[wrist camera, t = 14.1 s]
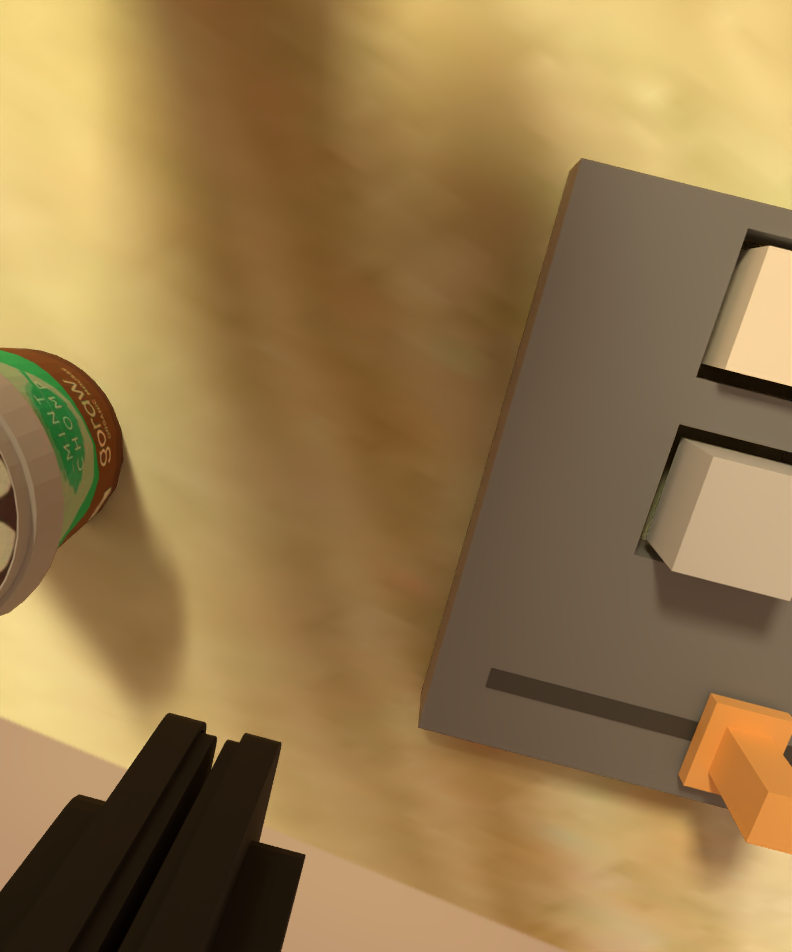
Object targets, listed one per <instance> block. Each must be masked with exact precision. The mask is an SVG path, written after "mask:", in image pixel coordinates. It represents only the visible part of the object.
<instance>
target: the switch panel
mask: <svg viewBox="0 0 792 952" xmlns="http://www.w3.org/2000/svg"><path fill="white" fill-rule="evenodd" d="M743 241H748V242H752V243H756V244H760V245H764V246H773V247H777V248H781V249H785V250H790V251H792V210H789V209H785V208H781V207H777V206H773V205H769V204H765V203H761V202H757V201H753V200H749V199H745V198H741V197H736V196H732V195H728V194H724V193H720V192H716V191H712V190H708V189H704V188H700V187H696V186H692V185H688V184H684V183H680V182H676V181H672V180H668V179H664V178H660V177H656V176H652V175H648V174H644V173H640V172H636V171H632V170H628V169H624V168H620V167H615V166H611V165H607V164H603V163H599V162H595V161H591V160H587V159H583V158H581V159H580V160H579V161H578V163H577V164H576V165H575V166H574V167H573V168H572V169H571V170H570V171H569V175H568V178H567V182H566V186H565V189H564V193H563V196H562V200H561V203H560V207H559V210H558V214H557V217H556V221H555V224H554V228H553V231H552V235H551V238H550V242H549V245H548V249H547V252H546V256H545V259H544V263H543V266H542V270H541V274H540V277H539V281H538V284H537V288H536V291H535V295H534V298H533V302H532V305H531V309H530V312H529V316H528V319H527V323H526V326H525V330H524V333H523V337H522V340H521V344H520V347H519V351H518V354H517V358H516V362H515V365H514V369H513V372H512V376H511V379H510V383H509V386H508V390H507V393H506V397H505V400H504V404H503V407H502V411H501V414H500V418H499V421H498V425H497V428H496V432H495V435H494V439H493V442H492V446H491V449H490V453H489V457H488V460H487V464H486V467H485V471H484V474H483V478H482V481H481V485H480V488H479V492H478V495H477V499H476V502H475V506H474V509H473V513H472V516H471V520H470V523H469V527H468V530H467V534H466V537H465V541H464V545H463V548H462V552H461V555H460V559H459V562H458V566H457V569H456V573H455V576H454V580H453V583H452V587H451V590H450V594H449V597H448V601H447V604H446V608H445V611H444V615H443V618H442V622H441V625H440V629H439V633H438V636H437V640H436V643H435V647H434V650H433V654H432V657H431V661H430V664H429V668H428V671H427V675H426V678H425V682H424V685H423V689H422V692H421V700H420V712H419V724H418V728H422V729H425V730H429V731H433V732H437V733H441V734H444V735H448V736H452V737H456V738H460V739H463V740H467V741H471V742H475V743H479V744H483V745H486V746H490V747H494V748H498V749H502V750H505V751H509V752H513V753H517V754H521V755H524V756H528V757H532V758H536V759H540V760H543V761H547V762H551V763H555V764H559V765H563V766H566V767H570V768H574V769H578V770H582V771H585V772H589V773H593V774H597V775H601V776H604V777H608V778H612V779H616V780H620V781H623V782H627V783H631V784H635V785H639V786H643V787H646V788H650V789H654V790H658V791H662V792H665V793H669V794H673V795H677V796H681V797H684V798H688V799H692V800H696V801H700V802H703V803H707V804H711V805H715V806H719V807H723V808H726V809H728V807H727V806H726V804H725V802H724V800H723V798H722V796H721V795H718V794H715V793H711V792H707V791H703V790H699V789H695V788H692V787H688V786H684V785H683V783H682V781H681V779H680V777H679V775H678V774H679V771H680V769H681V766H682V764H683V761H684V759H685V756H686V754H687V751H688V749H689V746H690V744H691V741H692V739H693V736H694V734H695V731H696V729H697V726H698V724H699V721H700V719H701V716H702V714H703V711H704V709H705V706H706V704H707V701H708V699H709V696H710V694H711V693H713V694H717V695H721V696H725V697H728V698H732V699H736V700H740V701H744V702H748V703H752V704H755V705H759V706H763V707H767V708H771V709H775V710H778V711H782V712H786V713H789V714H790V715H791V717H792V597H791V600H790V601H787V600H783V599H779V598H775V597H771V596H768V595H764V594H760V593H756V592H752V591H748V590H744V589H740V588H736V587H733V586H729V585H725V584H721V583H717V582H713V581H709V580H705V579H701V578H698V577H694V576H690V575H686V574H682V573H678V572H674V571H671V569H670V568H669V567H668V566H667V564H666V563H665V562H664V561H663V559H662V558H661V557H660V556H659V554H658V553H657V552H656V551H655V549H654V548H653V547H652V546H651V544H650V543H649V542H648V541H647V540H643V539H640V536H641V533H642V530H643V527H644V524H645V521H646V519H647V516H648V513H649V510H650V507H651V504H652V501H653V499H654V496H655V493H656V490H657V487H658V484H659V481H660V479H661V476H662V473H663V470H664V467H665V464H666V461H667V459H668V456H669V453H670V450H671V447H672V444H673V441H674V439H675V436H676V433H677V430H678V427H679V424H681V425H685V426H689V427H693V428H697V429H701V430H705V431H709V432H713V433H717V434H721V435H724V436H728V437H732V438H736V439H740V440H744V441H748V442H752V443H756V444H760V445H764V446H768V447H772V448H776V449H780V450H784V451H785V453H784V456H783V459H782V461H781V462H782V463H786V464H790V465H792V400H789V399H785V398H781V397H777V396H773V395H769V394H765V393H761V392H757V391H753V390H749V389H745V388H741V387H737V386H734V385H730V384H726V383H722V382H718V381H714V380H710V379H706V378H702V377H698V376H697V373H698V370H699V367H700V364H701V361H702V359H703V356H704V353H705V350H706V347H707V344H708V341H709V339H710V336H711V333H712V330H713V327H714V324H715V321H716V319H717V316H718V313H719V310H720V307H721V304H722V301H723V299H724V296H725V293H726V290H727V287H728V284H729V281H730V279H731V276H732V273H733V270H734V267H735V264H736V261H737V259H738V256H739V253H740V250H741V247H742V244H743ZM783 756H784V757H785V758H786V760H787V761H788V763H789V764H790V765H791V767H792V735H791V737H790V740H789V742H788V744H787V747H786V749H785V751H784V753H783Z"/></svg>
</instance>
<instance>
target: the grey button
mask: <svg viewBox="0 0 792 952" xmlns="http://www.w3.org/2000/svg"><path fill="white" fill-rule="evenodd" d="M646 539H647V541H648V542H649V543H650V544H651V546H652V547H653V548H654V549H655V551H656V552H657V553H658V554H659V556H660V557H661V558H662V559H663V561H664V562H665V563H666V564H667V566H668V567H669V568H670V569H671V571H674V572H678V573H682V574H686V575H690V576H694V577H698V578H701V579H705V580H709V581H713V582H717V583H721V584H725V585H729V586H733V587H736V588H740V589H744V590H748V591H752V592H756V593H760V594H764V595H768V596H771V597H775V598H779V599H783V600H787V601H790V600H791V597H792V465H790V464H786V463H782V462H778V461H774V460H771V459H767V458H763V457H759V456H755V455H751V454H747V453H743V452H739V451H735V450H731V449H727V448H723V447H719V446H715V445H711V444H708V443H704V442H700V441H696V440H692V439H688V438H684V437H681V439H680V442H679V445H678V448H677V451H676V454H675V457H674V459H673V462H672V465H671V468H670V471H669V474H668V476H667V479H666V482H665V485H664V488H663V491H662V493H661V496H660V499H659V502H658V505H657V508H656V510H655V513H654V516H653V519H652V522H651V525H650V527H649V530H648V533H647V536H646Z"/></svg>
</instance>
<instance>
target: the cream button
mask: <svg viewBox="0 0 792 952" xmlns="http://www.w3.org/2000/svg"><path fill="white" fill-rule="evenodd" d="M701 363H702V364H706V365H710V366H713V367H717V368H721V369H725V370H729V371H733V372H737V373H741V374H745V375H749V376H753V377H757V378H761V379H765V380H769V381H773V382H776V383H780V384H784V385H788V386H792V251H790V250H785V249H781V248H777V247H773V246H764V247H758V248H752V249H746V250H740V253H739V256H738V259H737V261H736V264H735V267H734V270H733V273H732V276H731V279H730V281H729V284H728V287H727V290H726V293H725V296H724V299H723V301H722V304H721V307H720V310H719V313H718V316H717V319H716V321H715V324H714V327H713V330H712V333H711V336H710V339H709V341H708V344H707V347H706V350H705V353H704V356H703V359H702V361H701Z"/></svg>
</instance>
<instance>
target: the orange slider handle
mask: <svg viewBox="0 0 792 952" xmlns="http://www.w3.org/2000/svg"><path fill="white" fill-rule="evenodd" d="M791 735H792V717H791V715H790V714H789V713H786V712H782V711H778V710H775V709H771V708H767V707H763V706H759V705H755V704H752V703H748V702H744V701H740V700H736V699H732V698H728V697H725V696H721V695H717V694H713V693H711V694H710V696H709V699H708V701H707V704H706V706H705V709H704V711H703V714H702V716H701V719H700V721H699V724H698V726H697V729H696V731H695V734H694V736H693V739H692V741H691V744H690V746H689V749H688V751H687V754H686V756H685V759H684V761H683V764H682V766H681V769H680V771H679V774H678V775H679V777H680V779H681V781H682V783H683V785H684V786H688V787H692V788H695V789H699V790H703V791H707V792H711V793H715V794H718V795H721V796H722V798H723V800H724V802H725V804H726V806H727V807H728V809H729V811H730V813H731V815H732V817H733V819H734V820H735V822H736V824H737V826H738V828H739V830H740V832H741V834H742V835H743V837H744V839H745V841H746V842H747V843H750V844H754V845H758V846H762V847H766V848H769V849H773V850H777V851H781V852H785V853H788V854H792V767H791V765H790V764H789V763H788V761H787V760H786V758H785V757H784V756H783V753H784V751H785V749H786V747H787V744H788V742H789V740H790V737H791Z"/></svg>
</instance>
